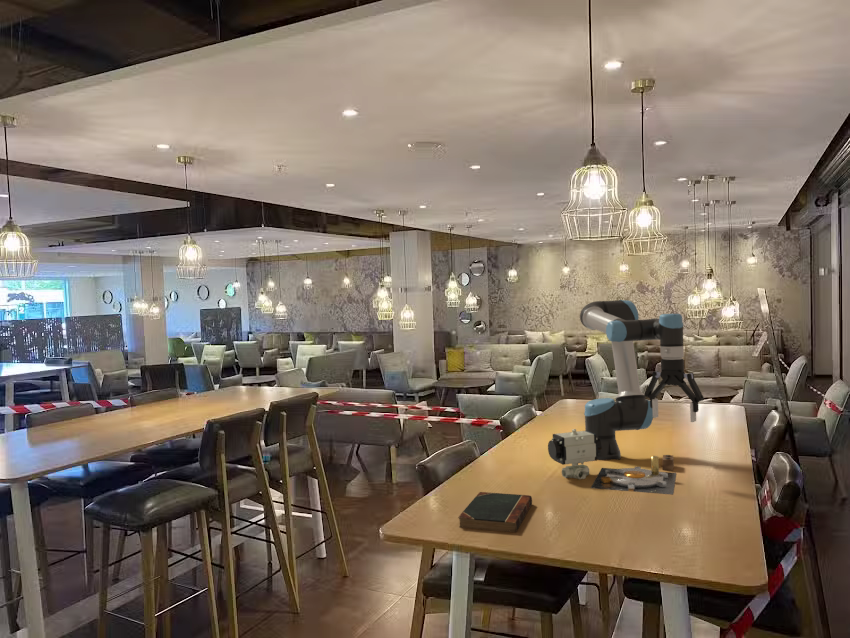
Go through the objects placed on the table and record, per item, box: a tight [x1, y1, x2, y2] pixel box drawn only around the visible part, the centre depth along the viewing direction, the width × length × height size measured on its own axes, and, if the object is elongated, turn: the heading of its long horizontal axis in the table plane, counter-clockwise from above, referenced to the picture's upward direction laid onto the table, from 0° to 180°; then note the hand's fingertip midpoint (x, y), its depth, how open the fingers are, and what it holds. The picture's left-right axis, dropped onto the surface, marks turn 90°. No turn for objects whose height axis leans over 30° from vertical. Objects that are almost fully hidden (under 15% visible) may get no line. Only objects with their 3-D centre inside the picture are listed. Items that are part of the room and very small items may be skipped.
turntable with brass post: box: [601, 455, 668, 490], centre depth 222 cm, size 21×23×8 cm
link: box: [661, 454, 675, 472], centre depth 236 cm, size 4×7×5 cm, turn 156°
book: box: [457, 491, 533, 533], centre depth 195 cm, size 17×4×25 cm
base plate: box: [590, 467, 677, 496], centre depth 222 cm, size 26×26×1 cm
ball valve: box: [547, 428, 602, 480], centre depth 230 cm, size 18×8×18 cm, turn 105°
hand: (674, 419), depth 222 cm, fingers open, 13 cm apart
